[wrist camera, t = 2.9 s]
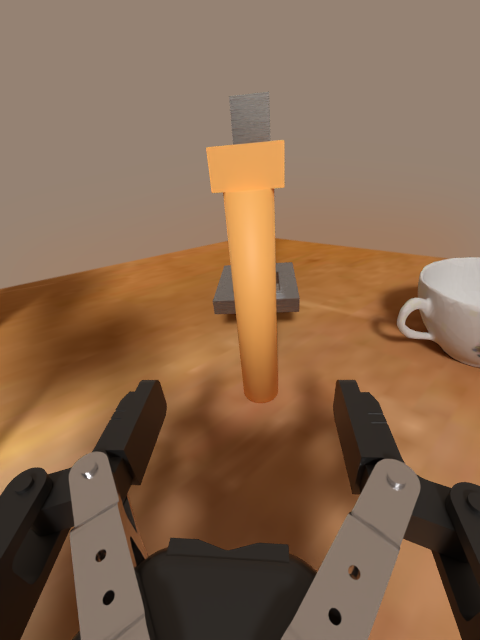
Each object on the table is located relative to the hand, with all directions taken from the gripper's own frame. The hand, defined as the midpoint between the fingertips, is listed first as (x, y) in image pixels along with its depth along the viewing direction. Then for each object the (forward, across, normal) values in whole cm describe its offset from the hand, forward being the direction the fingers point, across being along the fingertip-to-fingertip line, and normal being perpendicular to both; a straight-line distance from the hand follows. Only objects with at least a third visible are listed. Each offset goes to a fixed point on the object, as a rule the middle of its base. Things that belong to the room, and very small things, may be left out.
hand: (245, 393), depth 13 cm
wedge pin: (+10, 0, +10) cm, 15 cm away
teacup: (+16, -20, +11) cm, 28 cm away
